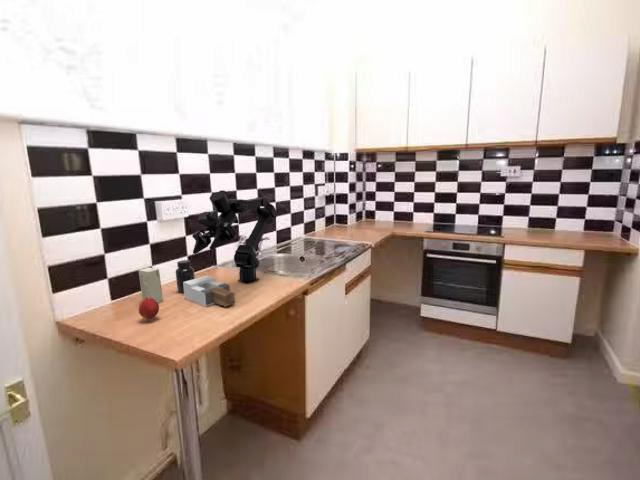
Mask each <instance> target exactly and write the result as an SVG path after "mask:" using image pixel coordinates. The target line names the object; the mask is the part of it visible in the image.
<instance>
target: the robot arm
mask: <svg viewBox="0 0 640 480" xmlns="http://www.w3.org/2000/svg"><path fill="white" fill-rule="evenodd" d="M209 201H210V202H211V204H212V206H213V209H214V210H211V211H204V212H200V214H199V215H198V219H197V223H198V224H201V225H203V226H205V228H204V229H205V230H206V231H207V232H206V231H204V230H197V231H194V232H193V234H192V235H191V237H192V239H194V240H195V243H194V247H193V249H192V250H193V251H192V253H193V255H197V254H198V253H199V252H201V251H203V250H204V249H206V248H208V247H209V250H211V251H213V250H215V249H217V248H218V247H220V246H223V245H224V244H227V243H228V242H230V241H232V240H235V239H236V238H237V236H238V232H237V230H236V229H234V227H233V226H232V225H233V224H239V217H238V216H237V215H243V214H245V213H247V212H248V210H251V209H252V210H253V209H255V213H256V214H257V215H256V217H257V221H256V223H255V225H254V227H253V229H252V231H251V233H250V234H249V235H248V236H249V237H248V238H247V240H246V242H245V243H244V244H239V245H237V249H236V250H235V251H234V252H235V253H234V255H233V261H234V263H235V267H236V268H239V272H238V273H239V275H238V277H239V279H237V281H238V282H240V283H244V284H251V283H253V282H257V281H259V279H260V278H258V277H257V269H258V268H259V266H260V259H258V258H257V251H256V250H257V247H258V245H259V244H260V242H261V239H262V238H263V236H264V233H265V232H266V230H267V228H268V226H270V225H272V224H273V223H274V221H276V219H277V217H278V211H277V209H276V208H275V206H274V205H273V204H272V203H270V202H269V201H268V199H267V198H265V197H255V198H250V199H249V198H248V199H243V198H242V199H238V198H237V199H233V198H232V199H231V198H229V197H228V195H227V193H226V191H225V190H219V191H217V192H214V193H213V194H211V195H210V196H209ZM219 213H220V214H219ZM212 238H214V239H213V240H212Z"/></svg>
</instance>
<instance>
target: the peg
mask: <svg viewBox="0 0 640 480" xmlns="http://www.w3.org/2000/svg"><path fill="white" fill-rule="evenodd" d="M211 291H212V294H213V302H214V303H215V304H217V305H220V306H222V307H224V308H227V307H228V306H232V305H234V304H236V297H235V296H236V295H235V291H232V290H230V291H228V290H225V289H222V288H219V287H215V288H212V289H211Z"/></svg>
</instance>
